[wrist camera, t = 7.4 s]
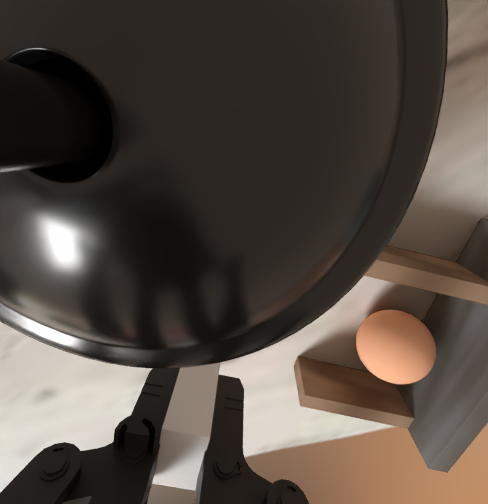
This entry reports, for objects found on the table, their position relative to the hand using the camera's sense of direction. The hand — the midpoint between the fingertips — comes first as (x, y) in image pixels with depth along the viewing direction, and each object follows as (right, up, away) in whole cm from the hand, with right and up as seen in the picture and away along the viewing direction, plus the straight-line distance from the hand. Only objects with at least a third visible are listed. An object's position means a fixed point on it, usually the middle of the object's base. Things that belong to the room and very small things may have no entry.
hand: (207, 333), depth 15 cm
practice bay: (+12, +1, +5) cm, 12 cm away
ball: (+11, -2, +3) cm, 12 cm away
